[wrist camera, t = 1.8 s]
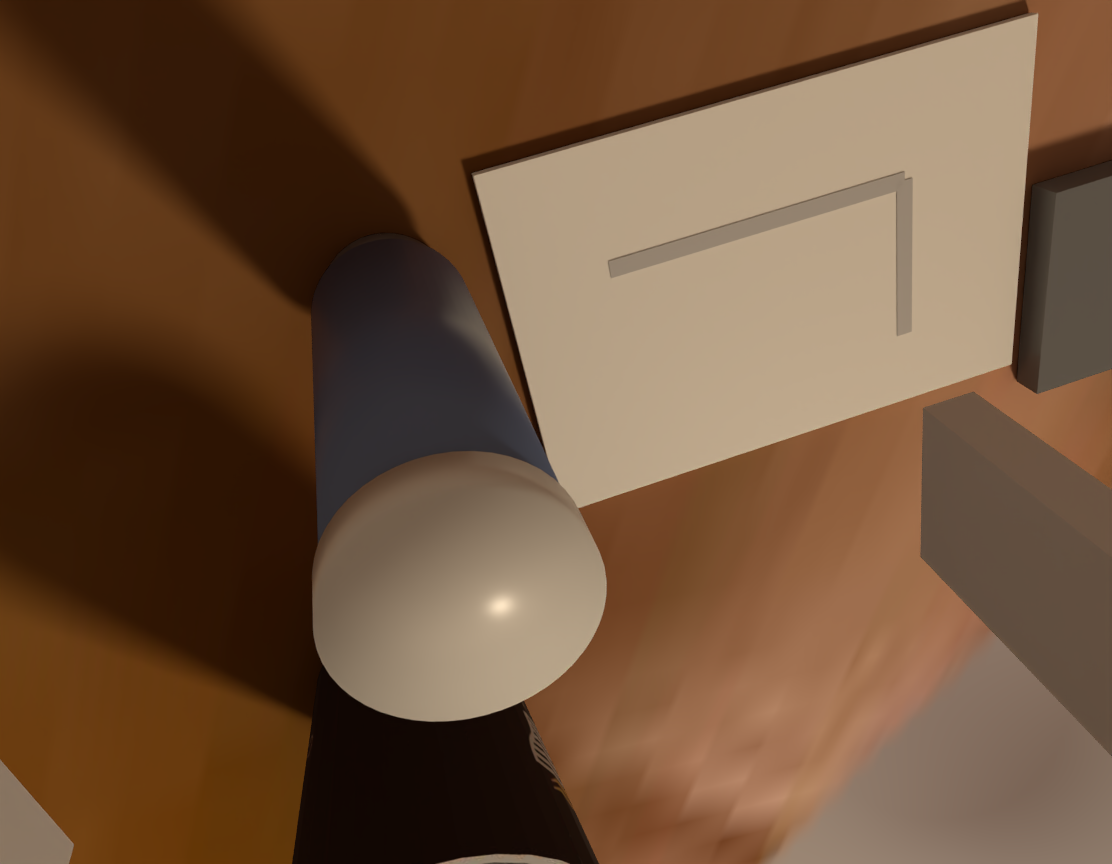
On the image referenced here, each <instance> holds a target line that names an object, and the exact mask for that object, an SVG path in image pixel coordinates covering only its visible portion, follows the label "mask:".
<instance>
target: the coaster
mask: <svg viewBox="0 0 1112 864" xmlns="http://www.w3.org/2000/svg"><path fill="white" fill-rule="evenodd" d="M1110 369H1112V161H1108V162H1105V163H1102V164H1099V165H1095V166H1092V167H1089V168H1086V169H1082V170H1079V171H1076V172H1073V173H1070V174H1066V175H1063V176H1060V177H1057V178H1053V179H1050V180H1047V181H1044V182H1040V183H1037V184H1034V185H1032V198H1031V210H1030V222H1029V235H1028V247H1027V259H1026V272H1025V284H1024V297H1023V309H1022V321H1021V334H1020V346H1019V358H1018V371H1017V382H1019V383H1020V384H1022V385H1024V386H1025V387H1027V388H1028V389H1030V390H1032V391H1033V392H1035V393H1036V394H1038V393H1041V392H1044V391H1047V390H1050V389H1053V388H1056V387H1059V386H1062V385H1065V384H1068V383H1071V382H1074V381H1077V380H1080V379H1083V378H1086V377H1089V376H1092V375H1095V374H1098V373H1101V372H1104V371H1107V370H1110Z"/></svg>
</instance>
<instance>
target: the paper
mask: <svg viewBox="0 0 1112 864" xmlns="http://www.w3.org/2000/svg"><path fill="white" fill-rule="evenodd" d="M1037 24H1038V13H1027V14H1024V15H1021V16H1017V17H1014V18H1010V19H1007V20H1003V21H1000V22H996V23H993V24H989V25H986V26H982V27H979V28H975V29H972V30H968V31H965V32H961V33H958V34H954V35H951V36H947V37H944V38H940V39H937V40H934V41H930V42H927V43H923V44H920V45H916V46H913V47H909V48H906V49H902V50H899V51H895V52H892V53H888V54H885V55H881V56H878V57H874V58H871V59H867V60H864V61H860V62H857V63H853V64H850V65H846V66H843V67H840V68H836V69H833V70H829V71H826V72H822V73H819V74H815V75H812V76H808V77H805V78H801V79H798V80H794V81H791V82H787V83H784V84H780V85H777V86H773V87H770V88H766V89H763V90H759V91H756V92H753V93H749V94H746V95H742V96H739V97H735V98H732V99H728V100H725V101H721V102H718V103H714V104H711V105H707V106H704V107H700V108H697V109H693V110H690V111H686V112H683V113H679V114H676V115H672V116H669V117H665V118H662V119H659V120H655V121H652V122H648V123H645V124H641V125H638V126H634V127H631V128H627V129H624V130H620V131H617V132H613V133H610V134H606V135H603V136H599V137H596V138H592V139H589V140H585V141H582V142H578V143H575V144H572V145H568V146H565V147H561V148H558V149H554V150H551V151H547V152H544V153H540V154H537V155H533V156H530V157H526V158H523V159H519V160H516V161H512V162H509V163H505V164H502V165H498V166H495V167H491V168H488V169H485V170H481V171H478V172H474V173H472V177H473V181H474V185H475V188H476V192H477V196H478V200H479V204H480V207H481V211H482V215H483V219H484V222H485V226H486V230H487V234H488V238H489V241H490V245H491V249H492V253H493V256H494V260H495V264H496V268H497V272H498V275H499V279H500V283H501V287H502V290H503V294H504V298H505V302H506V306H507V309H508V313H509V317H510V321H511V324H512V328H513V332H514V336H515V340H516V343H517V347H518V351H519V355H520V359H521V362H522V366H523V370H524V374H525V377H526V381H527V385H528V389H529V393H530V396H531V400H532V404H533V408H534V411H535V415H536V419H537V423H538V427H539V430H540V434H541V438H542V442H543V445H544V449H545V453H546V456H547V458H548V460H549V462H550V465H551V467H552V469H553V471H554V473H555V475H556V477H557V479H558V482H559V484H560V485H561V486H562V487H563V488H564V489H565V490H566V491H567V492H568V494H569V495H570V496H571V498H572V499H573V500H574V502H575V504H576V506H577V507H578V508H580V507H583V506H586V505H589V504H592V503H595V502H598V501H601V500H604V499H607V498H610V497H613V496H616V495H619V494H622V493H625V492H628V491H631V490H634V489H637V488H640V487H643V486H646V485H649V484H652V483H655V482H658V481H661V480H664V479H667V478H670V477H673V476H676V475H679V474H682V473H685V472H688V471H691V470H694V469H697V468H700V467H703V466H706V465H709V464H712V463H715V462H718V461H721V460H724V459H727V458H730V457H733V456H736V455H739V454H742V453H745V452H748V451H751V450H754V449H757V448H760V447H763V446H766V445H769V444H772V443H775V442H779V441H782V440H785V439H788V438H791V437H794V436H797V435H800V434H803V433H806V432H809V431H812V430H815V429H818V428H821V427H824V426H827V425H830V424H833V423H836V422H839V421H842V420H845V419H848V418H851V417H854V416H857V415H860V414H863V413H866V412H869V411H872V410H875V409H878V408H881V407H884V406H887V405H890V404H893V403H896V402H899V401H902V400H905V399H908V398H911V397H914V396H917V395H920V394H923V393H926V392H929V391H932V390H935V389H938V388H941V387H944V386H947V385H950V384H953V383H956V382H959V381H962V380H965V379H968V378H971V377H974V376H977V375H980V374H983V373H986V372H989V371H992V370H995V369H998V368H1001V367H1004V366H1007V365H1010V364H1012V352H1013V339H1014V326H1015V312H1016V299H1017V286H1018V273H1019V260H1020V247H1021V234H1022V221H1023V208H1024V194H1025V181H1026V168H1027V155H1028V142H1029V129H1030V116H1031V103H1032V90H1033V77H1034V63H1035V50H1036V37H1037Z"/></svg>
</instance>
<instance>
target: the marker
mask: <svg viewBox="0 0 1112 864" xmlns="http://www.w3.org/2000/svg"><path fill="white" fill-rule="evenodd" d="M311 326H312V359H313V393H314V426H315V459H316V492H317V526H318V546H317V549H316V553H315V556H314V561H313V568H312V606H313V635H314V640H315V645H316V649H317V652H318V654H319V657H320V659H321V662H322V664H323V665H324V667H325V668H326V670H327V672H328V673H329V675H330V676H331V677H332V678H333V680H334V681H335V682H336V683H337V684H338V685H339V686H340V687H341V688H342V689H343V690H344V691H345V692H347V693H348V694H349V695H350V696H351V697H353V698H355V699H356V700H358V701H359V702H361V703H363V704H364V705H366V706H368V707H371V708H373V709H375V710H377V711H379V712H382V713H386V714H389V715H392V716H395V717H400V718H405V719H410V720H418V721H430V722H433V721H455V720H464V719H470V718H475V717H479V716H484V715H487V714H491V713H494V712H497V711H501V710H503V709H506V708H508V707H511V706H513V705H516V704H518V703H520V702H522V701H524V700H526V699H528V698H530V697H531V696H533V695H535V694H536V693H538V692H540V691H541V690H543V689H544V688H546V687H547V686H549V685H550V684H551V683H553V682H554V681H555V680H556V679H558V678H559V677H560V676H561V675H562V674H564V673H565V672H566V671H567V670H568V669H569V668H570V667H571V666H572V665H573V664H574V663H575V661H576V660H577V659H578V658H579V657H580V655H581V654H582V653H583V652H584V650H585V649H586V647H587V646H588V644H589V643H590V641H591V639H592V638H593V636H594V634H595V632H596V630H597V628H598V626H599V623H600V620H601V617H602V614H603V611H604V606H605V600H606V574H605V568H604V564H603V561H602V558H601V555H600V552H599V550H598V548H597V546H596V544H595V542H594V540H593V538H592V536H591V534H590V532H589V529H588V527H587V525H586V523H585V521H584V519H583V517H582V515H581V513H580V511H579V509H578V507H577V506H576V504H575V502H574V500H573V499H572V498H571V496H570V495H569V494H568V492H567V491H566V490H565V489H564V488H563V487H562V486H561V485H560V484H559V482H558V479H557V477H556V475H555V473H554V471H553V469H552V467H551V465H550V462H549V460H548V458H547V456H546V454H545V452H544V450H543V448H542V445H541V443H540V441H539V439H538V437H537V435H536V433H535V431H534V428H533V426H532V424H531V422H530V420H529V418H528V416H527V414H526V411H525V409H524V407H523V405H522V403H521V401H520V399H519V397H518V394H517V392H516V390H515V388H514V386H513V384H512V382H511V380H510V377H509V375H508V373H507V371H506V369H505V367H504V365H503V363H502V361H501V358H500V356H499V354H498V352H497V350H496V348H495V346H494V344H493V341H492V339H491V337H490V335H489V333H488V331H487V329H486V327H485V324H484V322H483V320H482V318H481V316H480V314H479V312H478V310H477V307H476V305H475V303H474V301H473V299H472V297H471V295H470V293H469V290H468V288H467V286H466V284H465V282H464V280H463V278H462V277H461V275H460V274H459V272H458V271H457V269H456V268H455V267H454V266H453V265H452V264H451V263H450V262H449V260H447V259H446V258H445V257H444V256H442V255H441V254H440V253H438V252H437V251H435V250H433V249H432V248H430V247H427V246H426V245H425V244H423V243H421V242H420V241H418V240H416V239H414V238H411V237H408V236H405V235H401V234H395V233H380V234H373V235H369V236H366V237H363V238H360V239H358V240H356V241H354V242H352V243H351V244H349V245H348V246H346V247H345V248H344V249H343V250H342V251H341V252H339V253H338V255H337V256H336V257H335V258H334V259H333V261H332V263H331V264H330V266H329V267H328V269H327V270H326V271H325V272H324V274H323V276H322V277H321V279H320V280H319V282H318V285H317V287H316V289H315V292H314V296H313V300H312V307H311Z"/></svg>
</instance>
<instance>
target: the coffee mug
mask: <svg viewBox="0 0 1112 864" xmlns="http://www.w3.org/2000/svg"><path fill="white" fill-rule="evenodd" d="M292 864H599V863H598V861H597V859H596V856H595V854H594V852H593V850H592V848H591V846H590V843H589V841H588V839H587V837H586V835H585V833H584V830H583V828H582V826H581V824H580V822H579V820H578V817H577V815H576V813H575V811H574V809H573V807H572V804H571V802H570V800H569V798H568V796H567V793H566V791H565V789H564V787H563V785H562V783H561V780H560V778H559V776H558V774H557V772H556V770H555V767H554V765H553V763H552V761H551V759H550V757H549V754H548V752H547V750H546V748H545V746H544V744H543V741H542V739H541V737H540V735H539V733H538V731H537V728H536V726H535V724H534V722H533V720H532V717H531V715H530V713H529V711H528V709H527V707H526V704H525V702H524V701H522V702H520V703H518V704H516V705H513V706H511V707H508V708H506V709H503V710H501V711H497V712H494V713H491V714H487V715H484V716H479V717H475V718H470V719H464V720H455V721H433V722H430V721H418V720H410V719H405V718H400V717H395V716H392V715H389V714H386V713H382V712H379V711H377V710H375V709H373V708H371V707H368V706H366V705H364V704H363V703H361V702H359V701H358V700H356V699H355V698H353V697H351V696H350V695H349V694H348V693H347V692H345V691H344V690H343V689H342V688H341V687H340V686H339V685H338V684H337V683H336V682H335V681H334V680H333V678H332V677H331V676H330V675H329V673H328V672H327V670H326V668H325V667H324V665H322V668H321V671H320V674H319V677H318V681H317V688H316V696H315V703H314V710H313V717H312V725H311V732H310V739H309V746H308V753H307V761H306V768H305V775H304V782H303V790H302V797H301V804H300V811H299V818H298V826H297V833H296V840H295V847H294V855H293V862H292Z"/></svg>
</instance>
